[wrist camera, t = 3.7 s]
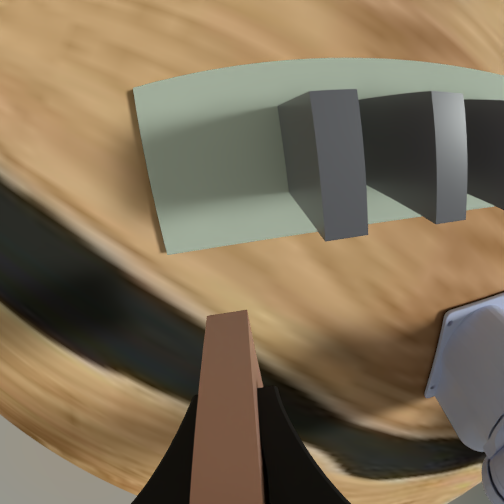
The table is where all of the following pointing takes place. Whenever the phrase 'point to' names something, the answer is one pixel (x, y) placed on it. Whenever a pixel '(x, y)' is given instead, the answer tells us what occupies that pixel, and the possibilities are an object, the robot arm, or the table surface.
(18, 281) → the table surface
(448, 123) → the domino
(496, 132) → the domino
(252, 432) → the tile
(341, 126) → the domino
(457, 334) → the robot arm
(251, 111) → the mat
